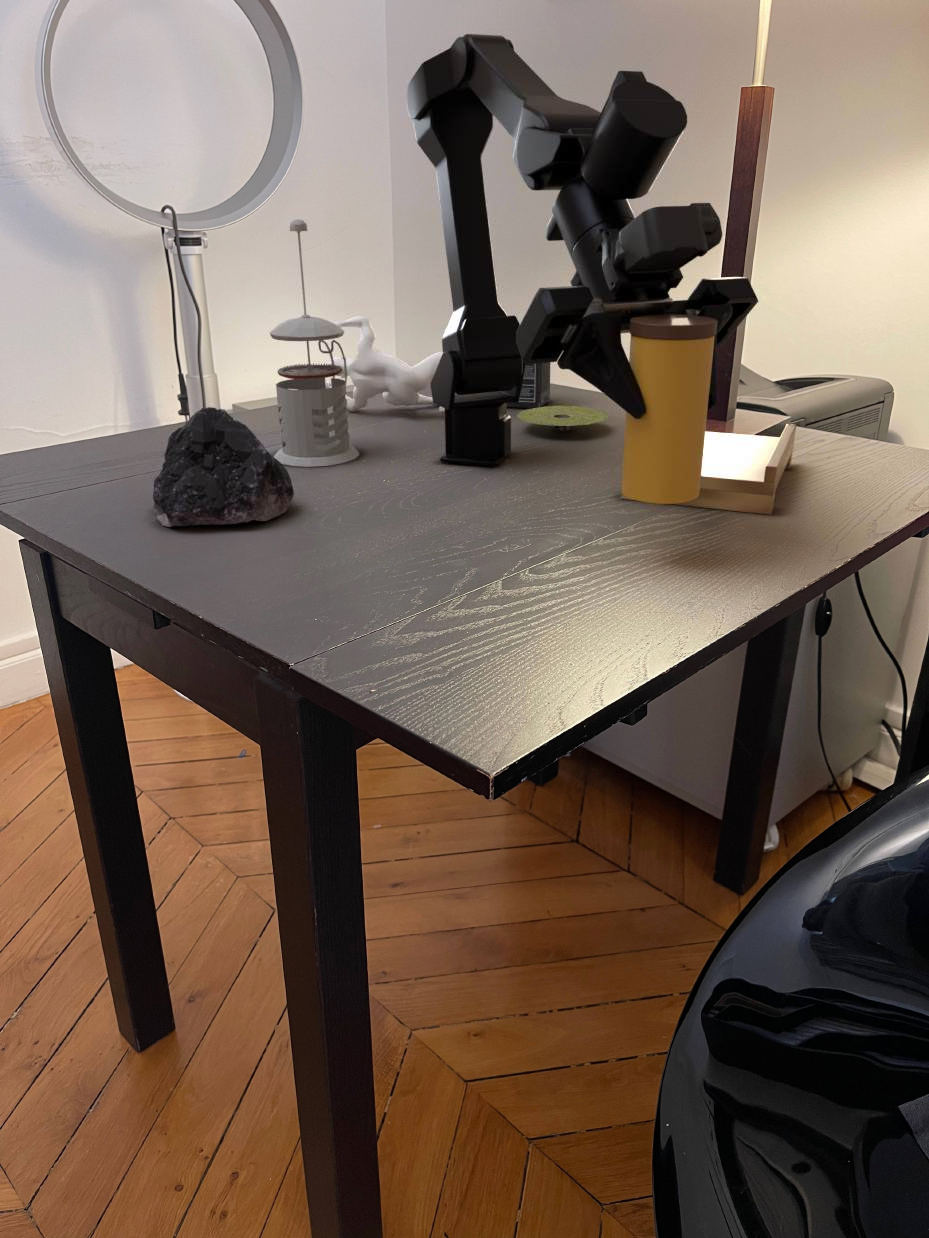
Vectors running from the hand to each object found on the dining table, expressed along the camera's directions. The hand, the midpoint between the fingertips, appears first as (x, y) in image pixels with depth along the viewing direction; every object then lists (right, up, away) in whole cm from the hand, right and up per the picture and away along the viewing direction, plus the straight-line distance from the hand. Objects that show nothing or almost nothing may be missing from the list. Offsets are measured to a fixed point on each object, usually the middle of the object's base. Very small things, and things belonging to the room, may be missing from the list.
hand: (677, 411), depth 69 cm
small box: (-9, +15, +63) cm, 66 cm away
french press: (-32, +4, +39) cm, 51 cm away
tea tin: (0, -5, +4) cm, 7 cm away
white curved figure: (-25, +12, +58) cm, 64 cm away
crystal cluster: (-39, -5, +20) cm, 44 cm away
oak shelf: (+9, -1, +26) cm, 28 cm away
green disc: (-3, +8, +48) cm, 49 cm away
